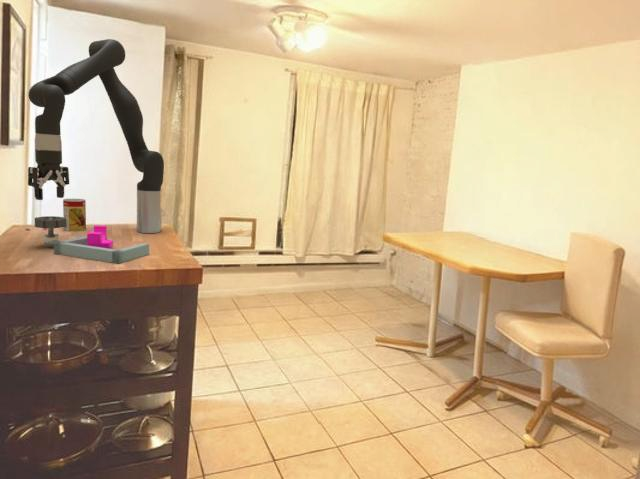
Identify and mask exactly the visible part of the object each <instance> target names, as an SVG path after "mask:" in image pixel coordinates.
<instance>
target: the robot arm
mask: <svg viewBox="0 0 640 479" xmlns="http://www.w3.org/2000/svg"><path fill="white" fill-rule="evenodd" d="M88 55H89V57H87V58H84V59H82V60H80V61H78V62H76V63H75V62H74V63H73V64H71V65H69V66H67V67H65V68H64V69H62V70H60V72H58V73H56V74H55V75H53V76H51V77H48V78H46V79H45V78H44V79H43V80H40V81H37V82H36V83H35V84H34V83H33V85H32V86H31V87H30V88H29V91H28V100H29V101H30V102H31V103H32V104H33V106H36V107H38V108H44V109H43V111H42V113H41V114H38V115H36V116H35V119H34V120H35V121H34V129H35V130H34V132H35V135H34V136H35V137H34V154H35V155H34V156H35V157H34V159H35V161H34V162H35V163H36V167H35V166H29V167H28V168H27V185H28V186H29V187H33V189H34V190H33V191H34V198H35V200H37V201H43V200H44V195H43V194H44V191H43V187H44V184H46V183H47V182H48V181H53V182H54V184H55V185H56V198H60V199H63V198H64V197H65V187H66V186H68V185H70V172H69V166H61V164H62V163H63V148H62V146H63V145H62V138H61V135H62V134H61V121H62V118H63V115H64V109H65V106H66V96H69V95H71V94H74V93H75V92H76V91H78V90H79V89H80V88H82V87H83V86H84V85H85V84H87V83H89V82H90V81H92V80H93V79H94V78H97V76H98V77H99V80H100V81H101V83H102V85H103V87H104V89H105V92H106V93H107V96H108V99H109V102H110V103H111V106H112V109H113V111H114V113H115V116H116V119H117V121H118V123H119V125H120V128H121V131H122V133H123V136H124V138H125V141H126V144H127V147H128V150H129V154H130V157H131V160H132V164H133V166H134V168H135V169H136V170H137V171H138V172H140V173H142V179H141V180H140V181H138V182H137V183H136V232H137V233H143V234H156V233H160V232H161V231H162V208H161V207H162V206H161V202H162V201H161V200H162V199H161V197H162V196H161V195H162V194H161V193H162V192H161V189H162V185H163V182H164V173H165V172H164V169H165V163H164V161H165V160H164V158H163V157H164V156H162V154H161V153H160V152H159V151H156V150H149V148H148V146H147V143H146V141H145V139H144V136H143V135H144V134H143V132H144V130H143V129H144V128H143V127H144V118H143V117H144V116H143V113H142V110H141V107H140V104H139V102H138V100H137V98H136V97H135V96H134V94H133V93H132V92H131V91H130V89H128V88H127V87H126V86H125V85H124V84H123V82H122V81H121V80H120V78H119V77H118V75H117V72H116V69H115V67H118V66H120V65H122V64H123V63H124V61H125V60H126V50H125V47H124V46H123V45H122V43H121V42H120V41H118V40H116V39H111V38H108V39H102V40H94V41H92V42H91V43H89V46H88Z"/></svg>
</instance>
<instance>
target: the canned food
mask: <svg viewBox="0 0 640 479" xmlns="http://www.w3.org/2000/svg"><path fill="white" fill-rule="evenodd" d="M62 199H63V198H62ZM62 204H63V205H62V206H63V207H62V208H63V209H62V210H63V211H62V212H63V214H62V215H63V216H62V217H65V218H66V227H63V230H64V231H66V232H82V231H83V230H84V231H86V230H87V224H86V223H87V216H86V215H87V213H86V209H87V205H86V199H85V198H83V199H82V198H64V199H63V200H62Z"/></svg>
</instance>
